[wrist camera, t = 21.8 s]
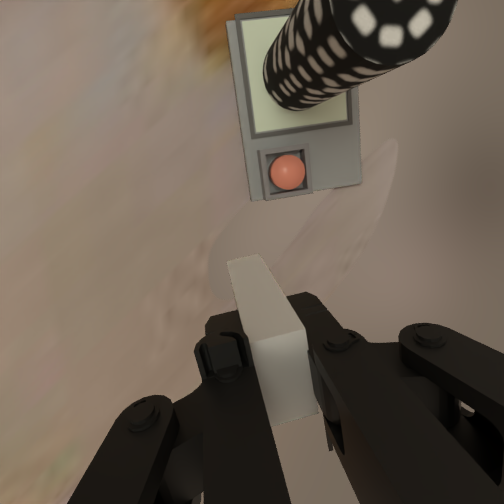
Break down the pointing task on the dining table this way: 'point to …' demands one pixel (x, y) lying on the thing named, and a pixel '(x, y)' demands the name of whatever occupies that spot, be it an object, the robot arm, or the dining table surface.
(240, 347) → the robot arm
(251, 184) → the picture board
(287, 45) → the white-spotted black cylinder
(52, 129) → the dining table surface
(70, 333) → the dining table surface
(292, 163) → the button
